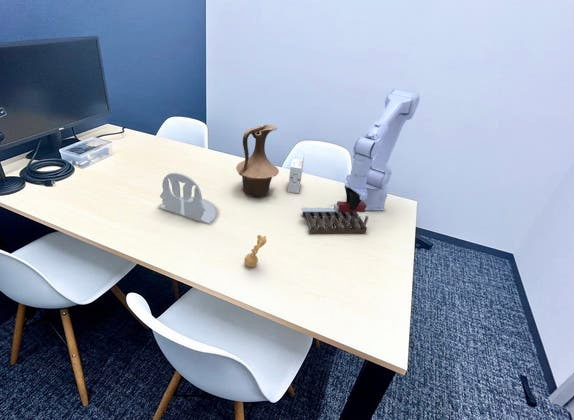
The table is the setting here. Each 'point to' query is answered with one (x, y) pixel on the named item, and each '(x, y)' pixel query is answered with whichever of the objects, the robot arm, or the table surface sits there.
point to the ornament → (186, 199)
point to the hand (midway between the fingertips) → (350, 207)
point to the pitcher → (257, 164)
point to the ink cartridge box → (295, 175)
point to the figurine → (255, 252)
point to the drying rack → (335, 223)
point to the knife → (338, 208)
